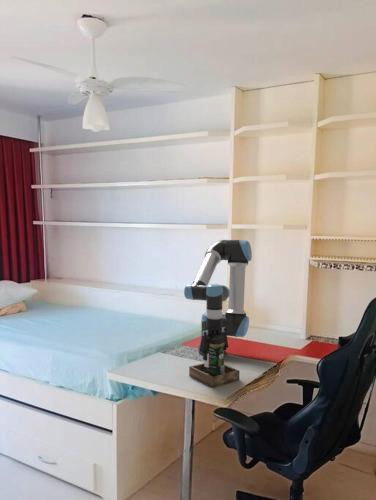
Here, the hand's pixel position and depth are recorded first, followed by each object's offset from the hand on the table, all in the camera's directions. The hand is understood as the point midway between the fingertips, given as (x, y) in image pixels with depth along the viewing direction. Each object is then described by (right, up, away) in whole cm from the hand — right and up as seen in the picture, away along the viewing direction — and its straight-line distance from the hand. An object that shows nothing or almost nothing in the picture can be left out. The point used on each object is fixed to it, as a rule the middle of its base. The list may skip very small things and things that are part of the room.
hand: (214, 364), depth 192 cm
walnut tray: (0, -6, 0) cm, 6 cm away
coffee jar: (0, -4, 0) cm, 4 cm away
